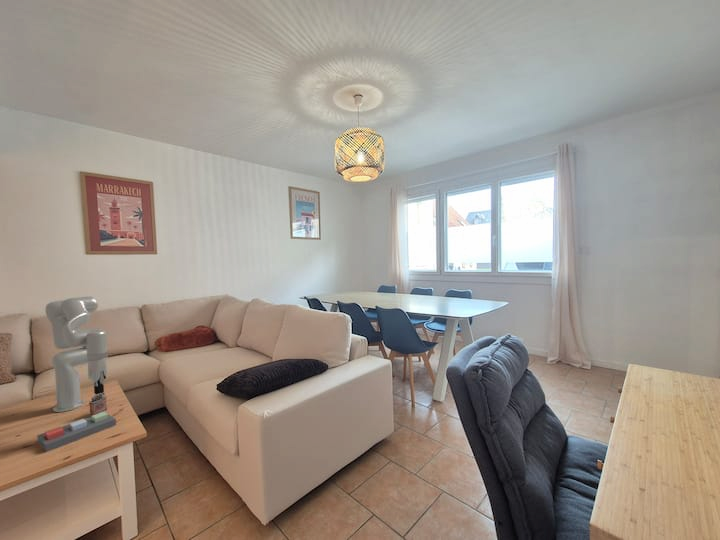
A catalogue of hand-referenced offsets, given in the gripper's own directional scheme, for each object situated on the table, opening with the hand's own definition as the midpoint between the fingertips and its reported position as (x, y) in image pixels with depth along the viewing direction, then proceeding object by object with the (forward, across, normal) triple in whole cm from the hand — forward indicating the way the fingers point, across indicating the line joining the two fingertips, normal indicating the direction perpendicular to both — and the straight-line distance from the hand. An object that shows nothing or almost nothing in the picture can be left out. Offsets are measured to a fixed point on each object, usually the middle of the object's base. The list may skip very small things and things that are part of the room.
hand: (99, 393), depth 145 cm
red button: (+14, 0, -16) cm, 22 cm away
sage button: (+14, 0, 0) cm, 14 cm away
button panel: (+16, 0, -8) cm, 18 cm away
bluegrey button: (+14, 0, -8) cm, 16 cm away
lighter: (+16, -16, +4) cm, 23 cm away
